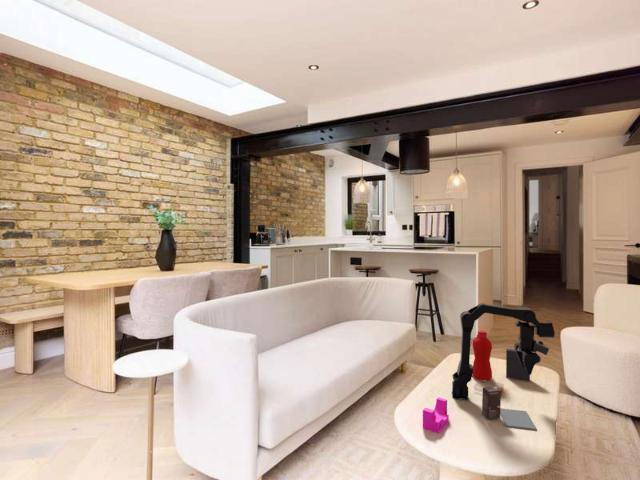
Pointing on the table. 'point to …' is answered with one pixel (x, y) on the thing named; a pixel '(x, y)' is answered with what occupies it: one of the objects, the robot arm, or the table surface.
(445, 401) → the toy block
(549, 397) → the table surface
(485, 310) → the robot arm
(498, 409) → the box
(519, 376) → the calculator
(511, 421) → the mat
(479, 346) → the water bottle
